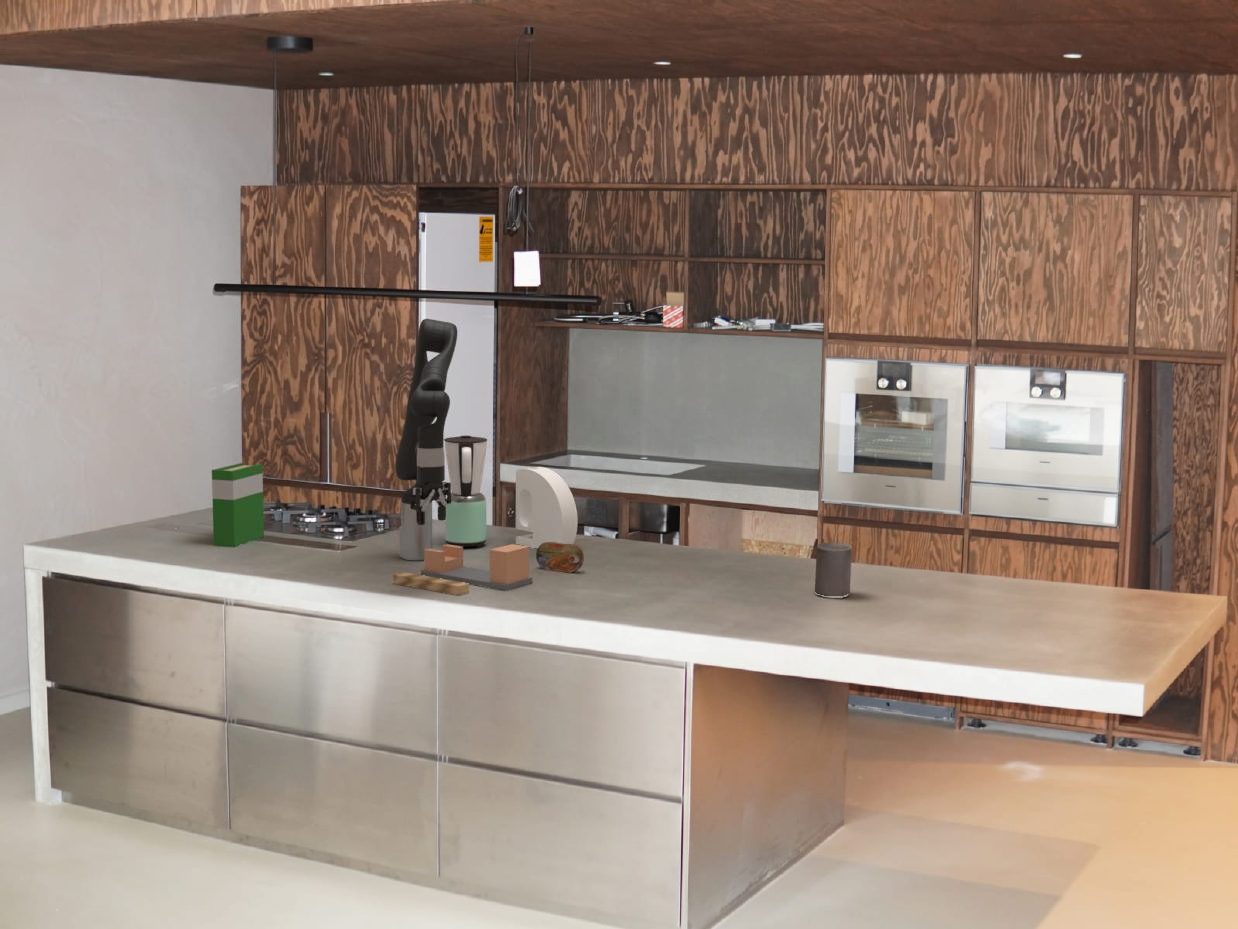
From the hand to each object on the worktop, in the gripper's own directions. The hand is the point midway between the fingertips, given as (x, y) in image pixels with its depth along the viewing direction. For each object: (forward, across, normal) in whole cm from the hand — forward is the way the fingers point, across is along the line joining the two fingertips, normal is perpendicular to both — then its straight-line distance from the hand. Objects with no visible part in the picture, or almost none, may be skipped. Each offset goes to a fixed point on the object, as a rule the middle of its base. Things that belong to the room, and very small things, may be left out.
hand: (431, 522), depth 386 cm
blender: (+18, -51, -30) cm, 62 cm away
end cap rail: (+18, -16, +3) cm, 24 cm away
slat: (+19, 0, 0) cm, 19 cm away
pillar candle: (+19, -59, +93) cm, 112 cm away
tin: (+19, -40, +15) cm, 46 cm away
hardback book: (+18, -14, -92) cm, 95 cm away
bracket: (+18, -64, -8) cm, 67 cm away
